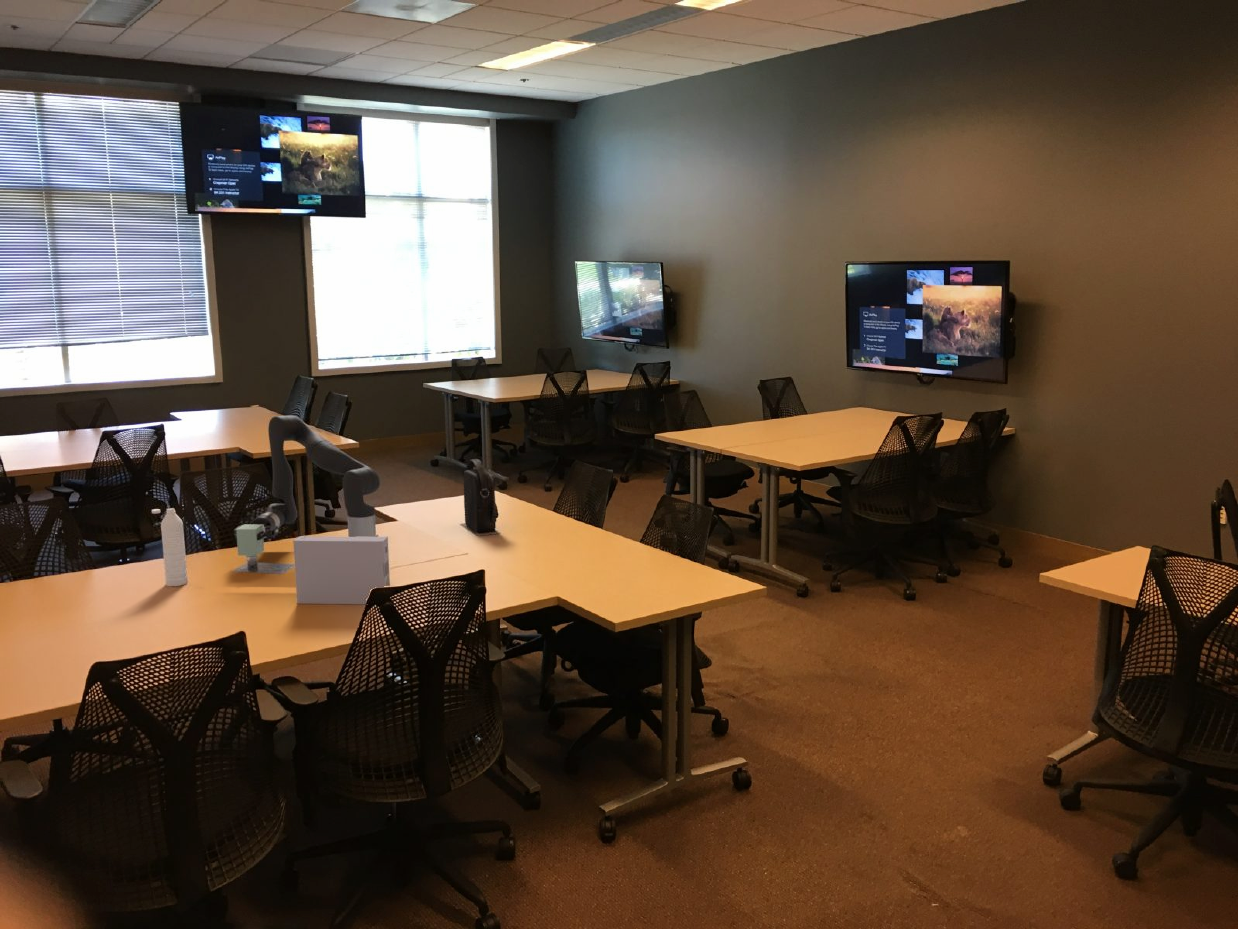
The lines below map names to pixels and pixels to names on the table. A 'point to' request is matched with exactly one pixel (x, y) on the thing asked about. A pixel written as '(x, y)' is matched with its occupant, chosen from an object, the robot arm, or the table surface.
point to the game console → (339, 568)
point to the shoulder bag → (479, 499)
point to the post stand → (263, 566)
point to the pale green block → (249, 540)
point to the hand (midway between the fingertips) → (247, 537)
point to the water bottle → (173, 548)
